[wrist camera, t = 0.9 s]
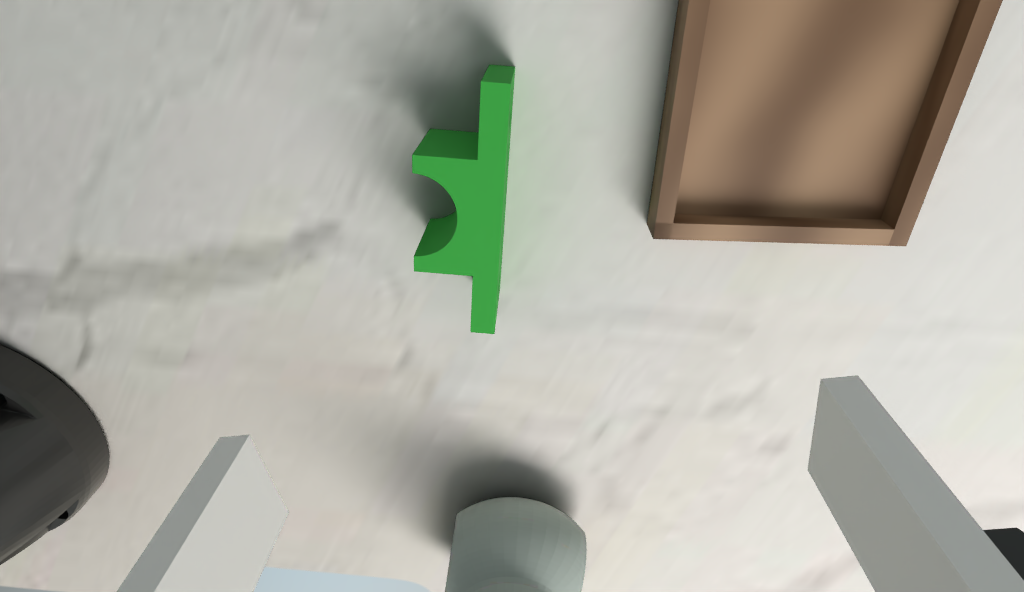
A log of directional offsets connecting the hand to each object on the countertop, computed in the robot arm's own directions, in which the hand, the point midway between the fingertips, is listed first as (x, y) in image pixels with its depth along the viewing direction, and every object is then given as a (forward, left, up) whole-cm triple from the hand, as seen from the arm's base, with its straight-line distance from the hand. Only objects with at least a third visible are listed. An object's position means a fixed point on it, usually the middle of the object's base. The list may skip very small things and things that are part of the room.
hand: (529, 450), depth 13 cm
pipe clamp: (-3, +1, -17) cm, 17 cm away
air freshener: (-1, -24, -17) cm, 30 cm away
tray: (+11, +7, -17) cm, 22 cm away
